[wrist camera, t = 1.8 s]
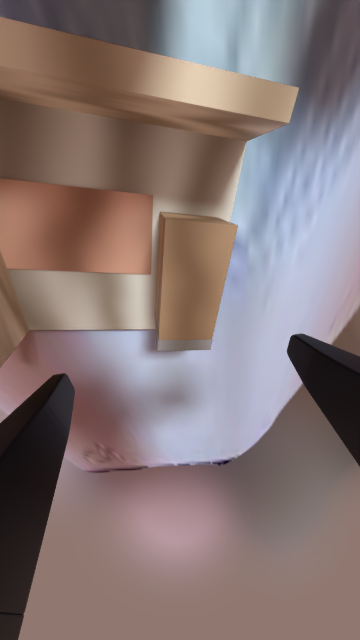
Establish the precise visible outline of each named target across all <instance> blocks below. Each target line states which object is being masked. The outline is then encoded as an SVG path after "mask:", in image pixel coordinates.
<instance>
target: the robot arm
mask: <svg viewBox="0 0 360 640" xmlns="http://www.w3.org/2000/svg"><path fill="white" fill-rule="evenodd" d="M287 354H288V356H289V358H290V360H291V362H292V364H293V365H294V367H295V369H296V371H297V373H298V375H299V376H300V378H301V380H302V382H303V384H304V385H305V387H306V388H307V390H308V392H309V393H310V395H311V396H312V398H313V399H314V400H315V402H316V403H317V405H318V406H319V408H320V409H321V411H322V412H323V414H324V415H325V417H326V418H327V420H328V421H329V422H330V424H331V425H332V426H333V428H334V430H335V431H336V433H337V434H338V435H339V437H340V438H341V440H342V441H343V443H344V444H345V446H346V447H347V449H348V450H349V452H350V453H351V454H352V456H353V457H354V459H355V460H356V462H357V463H358V465H359V466H360V357H359V356H357V355H354V354H352V353H349V352H347V351H344V350H342V349H340V348H337V347H335V346H332V345H330V344H327V343H325V342H322V341H320V340H317V339H315V338H312V337H310V336H307V335H305V334H295V335H292V336H291V337H290V341H289V345H288V348H287ZM74 395H75V389H74V386H73V384H72V383H71V381H70V379H69V377H68V375H67V374H65V373H62V374H56V375H53V376H52V377H51V378H50V379H48V380H47V381H46V382H45V383H44V384H43V385H42V386H41V387H40V388H39V389H37V390H36V391H35V392H34V393H33V394H32V395H31V396H30V397H29V398H28V399H26V400H25V401H24V402H23V403H22V404H21V405H20V406H19V407H18V408H17V409H15V410H14V411H13V412H12V413H11V414H10V415H9V416H8V417H7V418H6V419H4V420H3V421H2V422H1V423H0V640H18V637H19V634H20V629H21V626H22V622H23V618H24V615H23V614H24V612H25V609H26V604H27V601H28V596H29V593H30V588H31V585H32V581H33V577H34V573H35V569H36V565H37V560H38V557H39V553H40V549H41V545H42V540H43V536H44V533H45V529H46V525H47V521H48V517H49V513H50V509H51V504H52V501H53V497H54V493H55V489H56V484H57V480H58V476H59V472H60V468H61V464H62V460H63V456H64V452H65V448H66V444H67V440H68V436H69V431H70V425H71V417H72V410H73V403H74Z"/></svg>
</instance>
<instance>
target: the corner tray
mask: <svg viewBox="0 0 360 640" xmlns="http://www.w3.org/2000/svg"><path fill="white" fill-rule="evenodd" d="M298 90H299V88H298V87H293V86H289V85H285V84H281V83H277V82H272V81H268V80H264V79H260V78H256V77H251V76H247V75H243V74H239V73H234V72H230V71H226V70H222V69H218V68H213V67H209V66H205V65H201V64H197V63H192V62H188V61H184V60H180V59H175V58H171V57H167V56H163V55H159V54H154V53H150V52H146V51H142V50H138V49H133V48H129V47H125V46H121V45H116V44H112V43H108V42H104V41H100V40H95V39H91V38H87V37H83V36H79V35H74V34H70V33H66V32H62V31H58V30H53V29H49V28H45V27H41V26H36V25H32V24H28V23H24V22H20V21H15V20H11V19H7V18H3V17H0V368H1V366H2V365H3V364H4V363H5V361H6V360H7V359H8V357H9V356H10V355H11V354H12V352H13V351H14V350H15V348H16V347H17V346H18V345H19V343H20V342H21V341H22V339H23V338H24V337H25V336H26V334H27V333H28V332H29V330H119V329H155V312H156V293H157V269H158V245H159V221H160V211H161V212H171V213H181V214H192V215H202V216H212V217H218V218H220V219H223V220H225V221H228V222H230V219H231V214H232V210H233V205H234V200H235V195H236V191H237V186H238V181H239V176H240V172H241V167H242V162H243V157H244V152H245V148H246V143H247V141H249V140H251V139H253V138H256V137H258V136H260V135H263V134H265V133H267V132H270V131H272V130H274V129H277V128H279V127H281V126H284V125H286V124H289V122H290V118H291V115H292V111H293V108H294V104H295V101H296V97H297V94H298Z"/></svg>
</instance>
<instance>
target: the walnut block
mask: <svg viewBox="0 0 360 640" xmlns="http://www.w3.org/2000/svg"><path fill="white" fill-rule="evenodd" d="M237 227H238V225H235V224H233V223H230V222H228V221H225V220H223V219H220V218H218V217H212V216H202V215H192V214H181V213H171V212H161V211H160V221H159V245H158V269H157V293H156V312H155V329H156V339H157V350H158V351H182V350H210V349H211V344H212V337H213V332H214V328H215V323H216V319H217V315H218V310H219V306H220V302H221V297H222V293H223V288H224V284H225V280H226V275H227V271H228V267H229V262H230V258H231V253H232V249H233V245H234V240H235V236H236V231H237Z"/></svg>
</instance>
